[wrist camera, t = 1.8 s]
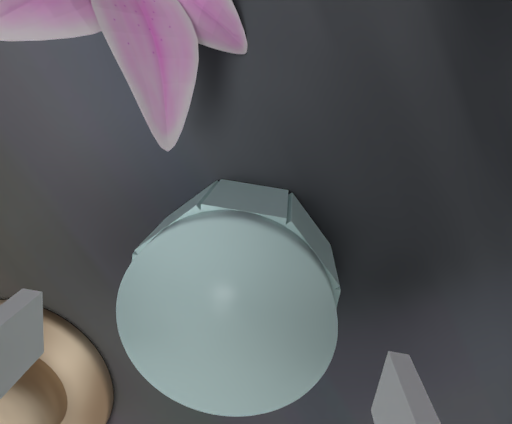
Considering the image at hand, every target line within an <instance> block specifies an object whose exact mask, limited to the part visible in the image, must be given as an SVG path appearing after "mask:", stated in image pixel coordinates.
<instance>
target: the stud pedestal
mask: <svg viewBox="0 0 512 424" xmlns="http://www.w3.org/2000/svg"><path fill="white" fill-rule="evenodd" d="M5 301H7V300H0V305H1V304H3V303H4V302H5ZM43 335H44V353H43V354H42V355H41V356H40V357H39V358H38V359H37V361H36V362H35V363H34V364H33V365H32V366H31V367H30V368H29V369H28V370H27V371H26V372H25V373H24V374H23V376H22V377H21V378H20V379H19V380H18V381H17V382H16V383H15V384H14V385H13V386H12V387H11V388H10V390H9V391H8V392H7V393H6V394H5V395H4V396H3V397H2V398H1V399H0V424H106V423H107V421H108V419H109V417H110V414H111V411H112V407H113V399H114V397H113V385H112V380H111V377H110V374H109V371H108V368H107V366H106V364H105V362H104V360H103V358H102V357H101V355H100V354H99V352H98V351H97V349H96V348H95V346H94V345H93V344H92V343H91V342H90V341H89V339H88V338H87V337H86V336H85V335H84V334H83V333H82V332H80V331H79V330H78V329H77V328H76V327H75V326H73V325H72V324H71V323H69V322H68V321H66V320H65V319H63V318H62V317H60V316H58V315H57V314H55V313H53V312H50V311H48V310H46V309H44V308H43Z"/></svg>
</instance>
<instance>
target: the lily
mask: <svg viewBox="0 0 512 424" xmlns="http://www.w3.org/2000/svg"><path fill="white" fill-rule="evenodd" d="M100 31H102V32H103V34H104V36H105V38H106V41H107V43H108V45H109V47H110V49H111V51H112V53H113V55H114V57H115V59H116V61H117V63H118V65H119V67H120V69H121V71H122V72H123V74H124V76H125V78H126V80H127V82H128V84H129V86H130V89H131V91H132V93H133V95H134V97H135V99H136V101H137V104H138V106H139V108H140V110H141V112H142V114H143V116H144V118H145V120H146V122H147V124H148V126H149V128H150V130H151V132H152V134H153V136H154V138H155V139H156V141H157V142H158V144H159V145H160V147H161V148H162V149H164V150H166V151H169V150H171V149H172V148H173V147H174V146H175V145H176V142H177V140H178V138H179V136H180V134H181V132H182V129H183V126H184V123H185V120H186V117H187V113H188V110H189V107H190V103H191V99H192V95H193V90H194V86H195V82H196V75H197V69H198V62H199V53H198V43H199V44H202V45H204V46H207V47H210V48H214V49H217V50H221V51H224V52H229V53H234V54H245V53H246V52H247V45H248V44H247V40H246V36H245V32H244V29H243V26H242V24H241V21H240V18H239V16H238V13H237V11H236V8H235V6H234V4H233V2H232V0H0V41H37V40H52V39H63V38H73V37H79V36H85V35H90V34H95V33H97V32H100Z"/></svg>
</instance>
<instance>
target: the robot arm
mask: <svg viewBox="0 0 512 424" xmlns="http://www.w3.org/2000/svg"><path fill="white" fill-rule="evenodd" d="M43 353H44V335H43V294H42V292H41V291H35V290H29V289H21V290H20V291H19V292H17V293H16V294H15V295H13V296H12V297H11V298H9V299H8V300H7V301H5V302H4V303H3V304H1V305H0V399H1V398H2V397H3V396H4V395H5V394H6V393H7V392H8V391H9V390H10V388H11V387H12V386H13V385H14V384H15V383H16V382H17V381H18V380H19V379H20V378H21V377H22V376H23V374H24V373H25V372H26V371H27V370H28V369H29V368H30V367H31V366H32V365H33V364H34V363H35V362H36V361H37V359H38V358H39V357H40V356H41V355H42V354H43ZM371 412H372V416H373V420H374V424H441V423H440V421H439V419H438V417H437V415H436V412H435V410H434V408H433V406H432V404H431V401H430V399H429V397H428V395H427V393H426V391H425V388H424V386H423V384H422V382H421V380H420V377H419V375H418V373H417V371H416V369H415V367H414V364H413V362H412V360H411V358H410V356H409V355H408V354H403V353H397V352H391V351H388V354H387V357H386V360H385V364H384V367H383V371H382V374H381V377H380V381H379V384H378V388H377V391H376V395H375V398H374V401H373V405H372V408H371Z"/></svg>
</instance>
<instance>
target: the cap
mask: <svg viewBox="0 0 512 424" xmlns="http://www.w3.org/2000/svg"><path fill="white" fill-rule="evenodd" d="M288 192H289V190H285V189H279V188H273V187H267V186H261V185H255V184H249V183H243V182H237V181H230V180H224V179H221V180H220V181H219V182H218V180H216V181H215V182H214V183H212V184H211V185H210V186H208V187H207V188H205V189H204V190H203V191H201V192H200V193H199V194H197V195H196V196H195V197H193V198H192V199H191V200H189V201H188V202H186V203H185V204H184V205H182V206H181V207H180V208H178V209H177V210H176V211H174V212H173V213H172V214H170V215H169V216H167V217H166V218H165V219H164V220H163V221H162V222H161V223H160V224H159V225H158V227H157V228H156V229H155V230H154V231H153V232H152V233H151V234H150V235H149V236H148V237H147V238H146V239H145V240H144V241H143V242H142V243H141V244H140V245H139V246H138V247H137V248H136V249H135V250H134V251H135V252H134V253H133V254H132V263H131V264H130V266H129V267H128V269H127V270H126V272H125V274H124V277H123V279H122V281H121V284H120V287H119V291H118V295H117V303H116V321H117V326H118V331H119V335H120V338H121V341H122V344H123V346H124V348H125V350H126V353H127V355H128V356H129V358H130V360H131V361H132V363H133V364H134V366H135V367H136V368H137V370H138V371H139V372H140V373H141V374H142V376H143V377H144V378H145V379H146V380H147V381H148V382H149V383H150V384H151V385H153V386H154V387H155V388H156V389H158V390H159V391H160V392H162V393H163V394H164V395H166V396H168V397H169V398H171V399H173V400H174V401H176V402H178V403H180V404H182V405H185V406H187V407H189V408H192V409H195V410H198V411H201V412H205V413H209V414H214V415H221V416H237V417H240V416H253V415H258V414H264V413H268V412H271V411H274V410H277V409H280V408H282V407H284V406H287V405H289V404H291V403H292V402H294V401H296V400H297V399H299V398H301V397H302V396H303V395H304V394H306V393H307V392H308V391H309V390H311V388H312V387H313V386H314V385H315V384H316V383H317V382H318V381H319V380H320V378H321V377H322V376H323V374H324V373H325V371H326V370H327V368H328V366H329V364H330V362H331V360H332V357H333V354H334V351H335V348H336V343H337V337H338V319H337V312H336V308H337V304H338V300H339V296H340V292H341V289H340V284H339V280H338V275H337V271H336V266H335V262H334V258H333V253H332V249H331V244H330V243H329V242H328V240H327V239H326V238H325V236H324V235H323V234H322V232H321V231H320V229H319V228H318V227H317V225H316V224H315V223H314V221H313V220H312V219H311V217H310V216H309V214H308V213H307V212H306V210H305V209H304V208H303V206H302V205H301V204H300V202H299V201H298V199H297V198H296V197H295V195H294V194H293V193H290V194H289V195H288Z"/></svg>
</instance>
